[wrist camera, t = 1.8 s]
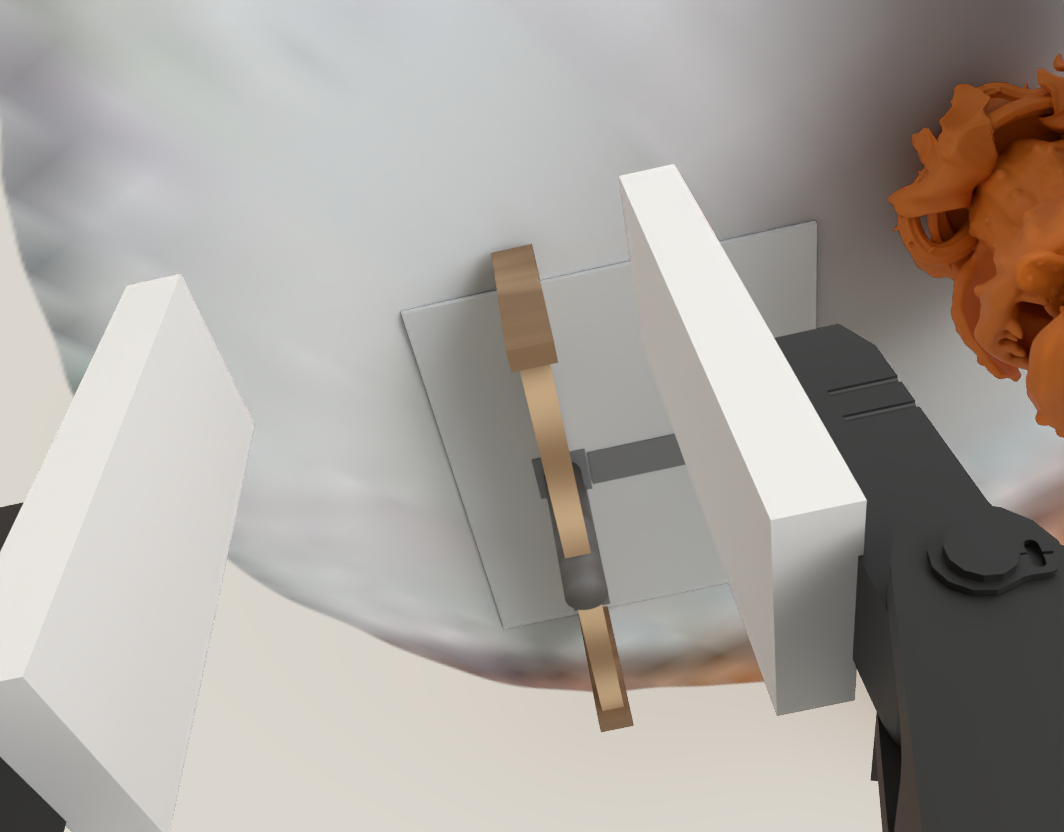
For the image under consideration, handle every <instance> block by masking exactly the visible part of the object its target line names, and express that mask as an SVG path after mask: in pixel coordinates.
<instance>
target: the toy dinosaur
mask: <svg viewBox="0 0 1064 832" xmlns="http://www.w3.org/2000/svg"><path fill="white" fill-rule="evenodd" d="M1054 68H1055V70H1057V71H1064V61H1063V60H1062V55H1061V54H1058V55H1057V56H1056V58H1055V60H1054ZM1038 84H1039V85H1040V86H1041V87H1043V88H1038V89H1028V83H1026V84H1025V86H1024V87H1023V88H1020V87H1017V86H1015V85H1012V84H1008V83H1003V82H993V83H988V84H984V85H982V86H980V87H977V88H975V87H974V86H972V85H969V84H958V85H957V86H956V87H955V89H954V92H953V99H952V100H951V101H950V102H951V104H952V107H951V109H950V110H949V111H948V112H947V113H946V115H945V116H944V117H942V118H941V119H940V125H941V127H942V132H941V134H939V137H938V138H937V139H936V138H935V136H934V134H933V133H932V132H931V130H930V129H928V128H924V129H922V130H921V131H920V132H919V133H914V134H913V135H912V144H913V147H914V148H915V149H916V150H917V152H918V153H919V159H920V161H921V162H922V163H923V165H924V166H925V167H924V169H923V170H922V171H919V172H918V174H919V176H918V177H917V178H916V180H915V181H914V182H913V184H910V185H907V186H905V187H903V188H901V189H899V190H897V191H896V192H894V193H893V194H891V195H890V196H889V197H888V202H889V203H891V204H892V205H893V206H894V209H895V211H896V213H898V221H897V223H898V226H897V227H896V228H894V230H893V231H899V233H900V236H901V238H902V240H903V242H904V245H905V247H906V248H907V250H908V251H909V252H910V254H911V255H912V258H913V261H914V262H915V263H916V265H917V267H918V268H920V269H922V270H923V271H925V272H926V273H928V274H929V275H930V276H932V277H934V278H943V277H948V278H951V279H953V280H954V281H955V283H954V290H953V297H952V308H951V315H952V319H953V321H954V323H955V326H956V331H957V333H958V334H960V336H961V338H962V340H963V342H964V343H965V344H966V346H968V347H969V348H970V349H971V350H972V351H973V352H974V353H975V354H976V355H977V362H978V363H979V364H980V365H982V366H985V367H986V368H987V370H988V371H989V372H990V373H991V374H993V375H994V376H995V377H996V378H998V379H1004V378H1010V379H1012V380H1013V381H1015V382H1017V381H1018V380H1019V379H1020V377H1021V373H1020V371H1019V369H1018V368H1021V369H1025V370H1028V372H1027V376H1026V388H1027V395H1028V397H1029V398H1030V400H1031V401H1032V403H1033V404H1034V406H1035V407H1036V409H1037V411H1038V412H1037V415H1036V418H1035V419H1036V422H1037V423H1038V424H1039V425H1042V426H1046V425H1049V426H1051V427H1053V428H1054V429H1056V434H1057V435H1058V436H1059V437H1063V438H1064V78H1062V77H1059V76H1056V75H1053V74H1051V73H1050V72H1048V71H1047V70H1045V69H1042V68H1039V69H1038ZM924 215H926V219H927V224H928V228H929V232H930V236H931V239H932V241H931V240H930V239H929V238H928V237H927V236H926V234H925V232H924V230H923V228H922V226H921V222H920V216H924Z"/></svg>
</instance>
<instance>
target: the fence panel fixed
mask: <svg viewBox="0 0 1064 832" xmlns="http://www.w3.org/2000/svg"><path fill="white" fill-rule="evenodd" d="M572 467H573V472H574V476H575V481H576V486H577V490H578V495H579V500H580V504H581V509H582V514H583V518H584V523H585V528H586V532H587V537H588V542H589V546H590V551H591V553H589V554H585V555H580V556H575V557H570V558H566V559H565V556H564V552H563V548H562V543H561V539H560V535H559V531H558V527H557V523H556V519H555V515H554V510H553V506H552V502H551V498H550V494H549V490H548V486H547V481H546V477H545V473H544V482H545V488H546V493H547V499H548V505H549V511H550V516H551V522H552V528H553V533H554V539H555V545H556V551H557V556H558V562H559V568H560V574H561V579H562V585H563V591H564V596H565V601H566V603H567V604H568V605H569V606H570V607H572V608H574V609H577V610H578V614H579V619H580V624H581V630H582V635H583V640H584V646H585V651H586V656H587V662H588V667H589V673H590V678H591V683H592V689H593V694H594V699H595V705H596V710H597V715H598V721H599V725H600V729H601V732H604V731H609V730H614V729H619V728H624V727H629V726H633V720H632V715H631V711H630V706H629V702H628V697H627V693H626V688H625V684H624V679H623V674H622V670H621V665H620V661H619V656H618V652H617V647H616V643H615V638H614V634H613V629H612V624H611V620H610V615H609V611H608V606H605V607H602V604H603V603H604V602H605V600H606V599H607V597H608V588H607V584H606V579H605V575H604V570H603V566H602V562H601V557H600V553H599V548H598V544H597V539H596V535H595V530H594V526H593V521H592V517H591V513H590V508H589V504H588V499H587V495H586V490H585V486H584V481H583V477H582V472H581V469H580V467H579V466H578V465H577V464H576V463H574V462H572Z"/></svg>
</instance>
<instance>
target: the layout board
mask: <svg viewBox="0 0 1064 832" xmlns="http://www.w3.org/2000/svg"><path fill="white" fill-rule="evenodd" d="M719 243H720V244H721V246H722V248H723V250H724V251H725V253H726V255H727V257H728V258H729V260H730V262H731V264H732V265H733V267H734V269H735V271H736V272H737V274H738V276H739V277H740V279H741V281H742V283H743V284H744V286H745V288H746V290H747V291H748V293H749V295H750V297H751V298H752V300H753V302H754V304H755V305H756V307H757V309H758V311H759V312H760V314H761V316H762V318H763V319H764V321H765V323H766V325H767V326H768V328H769V330H770V332H771V333H772V335H773V337H774V338H775V337H780V336H785V335H789V334H794V333H799V332H803V331H808V330H813V329H816V289H817V223H816V221H810V222H805V223H801V224H796V225H792V226H787V227H783V228H778V229H773V230H769V231H764V232H760V233H755V234H751V235H746V236H742V237H737V238H732V239H728V240H723V241H719ZM540 282H541V287H542V291H543V295H544V300H545V304H546V309H547V313H548V317H549V322H550V326H551V331H552V335H553V339H554V344H555V349H556V354H557V359H558V363H554V364H551V369H552V374H553V378H554V383H555V388H556V392H557V397H558V402H559V406H560V411H561V416H562V420H563V425H564V430H565V434H566V439H567V444H568V448H569V453H570V458H571V462H574V463H576V464H577V465H578V466H579V467H580V469H581V472H582V477H583V481H584V486H585V490H586V495H587V499H588V504H589V508H590V513H591V517H592V521H593V526H594V530H595V535H596V539H597V544H598V548H599V553H600V557H601V562H602V566H603V570H604V575H605V579H606V584H607V588H608V597H607V599H606V600H605V602H604V603H603V604H602V607H605V606H608V608H610V607H615V606H620V605H625V604H630V603H635V602H639V601H644V600H649V599H654V598H659V597H664V596H668V595H673V594H678V593H683V592H688V591H693V590H697V589H702V588H707V587H712V586H717V585H722V584H726V583H729V582H728V579H727V577H726V574H725V571H724V568H723V566H722V563H721V560H720V557H719V555H718V552H717V549H716V546H715V544H714V541H713V538H712V535H711V533H710V530H709V527H708V524H707V522H706V519H705V516H704V513H703V511H702V508H701V505H700V502H699V500H698V497H697V494H696V491H695V488H694V486H693V483H692V480H691V477H690V475H689V472H688V469H687V466H686V464H685V461H684V458H683V455H682V453H681V450H680V447H679V444H678V442H677V439H676V436H675V433H674V431H673V428H672V425H671V422H670V420H669V417H668V414H667V411H666V409H665V406H664V403H663V400H662V397H661V395H660V392H659V389H658V386H657V384H656V381H655V378H654V375H653V373H652V370H651V367H650V364H649V362H648V359H647V356H646V353H645V351H644V348H643V345H642V342H641V336H640V329H639V321H638V314H637V307H636V299H635V292H634V284H633V277H632V270H631V262H630V261H627V262H623V263H618V264H614V265H609V266H605V267H600V268H595V269H591V270H586V271H582V272H577V273H573V274H568V275H563V276H559V277H554V278H550V279H545V280H541V281H540ZM401 315H402V318H403V321H404V324H405V327H406V330H407V333H408V336H409V339H410V342H411V345H412V348H413V351H414V354H415V357H416V360H417V363H418V367H419V370H420V373H421V376H422V379H423V382H424V385H425V388H426V391H427V394H428V397H429V400H430V403H431V406H432V409H433V412H434V415H435V419H436V422H437V425H438V428H439V431H440V434H441V437H442V440H443V443H444V446H445V449H446V452H447V455H448V458H449V461H450V464H451V467H452V471H453V474H454V477H455V480H456V483H457V486H458V489H459V492H460V495H461V498H462V501H463V504H464V507H465V510H466V513H467V516H468V519H469V523H470V526H471V529H472V532H473V535H474V538H475V541H476V544H477V547H478V550H479V553H480V556H481V559H482V562H483V565H484V568H485V571H486V575H487V578H488V581H489V584H490V587H491V590H492V593H493V596H494V599H495V602H496V605H497V608H498V611H499V614H500V617H501V620H502V623H503V627H504V629H509V628H514V627H519V626H524V625H528V624H533V623H538V622H543V621H548V620H553V619H557V618H562V617H567V616H572V615H577V614H578V610H577V609H574V608H572V607H570V606H569V605H568V604H567V603H566V601H565V596H564V591H563V585H562V579H561V574H560V568H559V562H558V556H557V551H556V545H555V539H554V533H553V528H552V522H551V516H550V511H549V505H548V499H547V493H546V488H545V482H544V469H543V465H542V461H541V457H540V452H539V448H538V444H537V440H536V436H535V432H534V428H533V424H532V419H531V415H530V411H529V407H528V403H527V399H526V395H525V390H524V386H523V382H522V378H521V374H520V371H517V372H513V373H511V370H510V366H509V362H508V358H507V354H506V348H505V342H504V335H503V329H502V322H501V315H500V309H499V302H498V295H497V290H495V291H490V292H486V293H481V294H477V295H472V296H468V297H463V298H458V299H454V300H449V301H445V302H440V303H436V304H431V305H427V306H422V307H417V308H413V309H408V310H404V311H402V312H401Z"/></svg>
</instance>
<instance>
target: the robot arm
mask: <svg viewBox="0 0 1064 832" xmlns="http://www.w3.org/2000/svg"><path fill="white" fill-rule="evenodd" d="M619 181H620V188H621V196H622V203H623V210H624V218H625V225H626V233H627V240H628V247H629V255H630V262H631V270H632V277H633V284H634V292H635V299H636V307H637V314H638V321H639V329H640V336H641V342H642V345H643V348H644V351H645V353H646V356H647V359H648V362H649V364H650V367H651V370H652V373H653V375H654V378H655V381H656V384H657V386H658V389H659V392H660V395H661V397H662V400H663V403H664V406H665V409H666V411H667V414H668V417H669V420H670V422H671V425H672V428H673V431H674V433H675V436H676V439H677V442H678V444H679V447H680V450H681V453H682V455H683V458H684V461H685V464H686V466H687V469H688V472H689V475H690V477H691V480H692V483H693V486H694V488H695V491H696V494H697V497H698V500H699V502H700V505H701V508H702V511H703V513H704V516H705V519H706V522H707V524H708V527H709V530H710V533H711V535H712V538H713V541H714V544H715V546H716V549H717V552H718V555H719V557H720V560H721V563H722V566H723V568H724V571H725V574H726V577H727V579H728V582H729V585H730V588H731V591H732V593H733V596H734V599H735V602H736V604H737V607H738V610H739V613H740V615H741V618H742V621H743V624H744V626H745V629H746V632H747V635H748V637H749V640H750V643H751V646H752V648H753V651H754V654H755V657H756V659H757V662H758V665H759V668H760V670H761V673H762V676H763V679H764V681H765V684H766V687H767V690H768V692H769V695H770V698H771V700H772V703H773V706H774V709H775V712H776V715H777V716H779V715H784V714H789V713H794V712H799V711H804V710H809V709H814V708H819V707H824V706H828V705H833V704H838V703H843V702H848V701H853V700H855V687H856V670H858V672H859V674H860V676H861V678H862V681H863V683H864V685H865V687H866V689H867V691H868V693H869V696H870V698H871V700H872V702H873V704H874V706H875V709H876V711H877V715H876V727H875V737H874V749H873V760H872V772H871V780H872V781H878V784H879V795H880V807H881V818H882V830H883V832H1064V546H1063V545H1060V543H1059V541H1058V540H1057V539H1056V538H1054V537H1053V536H1052V535H1051V534H1049V533H1048V532H1047V531H1045V530H1044V529H1043V528H1042V527H1040V526H1039V525H1038V524H1037V523H1035V522H1034V521H1033V520H1030V519H1028V518H1026V517H1023V516H1021V515H1018V514H1016V513H1013V512H1011V511H1008V510H1006V509H1003V508H1001V507H995V506H992V505H991V504H990V503H989V502H988V501H987V500H986V498H985V497H984V496H983V494H982V493H981V491H980V490H979V489H978V487H977V486H976V484H975V483H974V482H973V480H972V479H971V478H970V476H969V475H968V473H967V472H966V471H965V469H964V468H963V466H962V465H961V464H960V462H959V461H958V460H957V458H956V457H955V455H954V454H953V453H952V451H951V450H950V448H949V447H948V446H947V444H946V443H945V441H944V440H943V439H942V437H941V436H940V435H939V433H938V432H937V430H936V429H935V428H934V426H933V425H932V423H931V422H930V421H929V419H928V418H927V417H926V415H925V414H924V412H923V411H922V410H921V408H920V407H916V405H915V400H914V398H913V397H912V396H911V394H910V393H909V392H908V390H907V389H906V387H905V386H904V385H903V383H902V382H898V380H897V375H896V374H895V372H894V371H893V369H892V368H891V367H890V365H889V364H888V362H887V361H886V360H885V358H884V357H883V355H882V354H881V353H880V351H879V350H878V349H877V347H876V346H875V345H873V344H872V343H870V342H868V341H867V340H865V339H863V338H862V337H860V336H858V335H856V334H855V333H853V332H851V331H850V330H848V329H846V328H845V327H843V326H841V325H839V324H836V325H831V326H826V327H822V328H817V329H813V330H808V331H803V332H799V333H794V334H789V335H785V336H780V337H775V338H774V337H773V335H772V333H771V332H770V330H769V328H768V326H767V325H766V323H765V321H764V319H763V318H762V316H761V314H760V312H759V311H758V309H757V307H756V305H755V304H754V302H753V300H752V298H751V297H750V295H749V293H748V291H747V290H746V288H745V286H744V284H743V283H742V281H741V279H740V277H739V276H738V274H737V272H736V271H735V269H734V267H733V265H732V264H731V262H730V260H729V258H728V257H727V255H726V253H725V251H724V250H723V248H722V246H721V244H720V243H719V241H718V239H717V237H716V236H715V234H714V232H713V230H712V229H711V227H710V225H709V223H708V222H707V220H706V218H705V216H704V215H703V213H702V211H701V209H700V208H699V206H698V204H697V202H696V201H695V199H694V197H693V195H692V194H691V192H690V190H689V188H688V187H687V185H686V183H685V181H684V180H683V178H682V176H681V174H680V173H679V171H678V169H677V167H676V166H675V164H671V165H666V166H662V167H657V168H653V169H648V170H644V171H639V172H635V173H630V174H626V175H621V176H619ZM254 427H255V424H254V422H253V420H252V418H251V416H250V414H249V412H248V410H247V408H246V406H245V404H244V402H243V400H242V398H241V396H240V394H239V392H238V390H237V387H236V385H235V383H234V381H233V379H232V377H231V375H230V373H229V371H228V369H227V367H226V365H225V363H224V361H223V359H222V357H221V355H220V353H219V351H218V349H217V347H216V345H215V343H214V341H213V339H212V336H211V334H210V332H209V330H208V328H207V326H206V324H205V322H204V320H203V318H202V316H201V314H200V312H199V310H198V308H197V306H196V304H195V302H194V300H193V298H192V296H191V294H190V292H189V290H188V288H187V285H186V283H185V281H184V279H183V277H182V275H181V274H176V275H172V276H167V277H163V278H158V279H154V280H149V281H145V282H140V283H136V284H131V285H127V286H126V288H125V291H124V293H123V295H122V297H121V299H120V301H119V303H118V305H117V307H116V309H115V312H114V314H113V316H112V318H111V320H110V322H109V324H108V326H107V328H106V330H105V333H104V335H103V337H102V339H101V341H100V343H99V345H98V347H97V349H96V352H95V354H94V356H93V358H92V360H91V362H90V364H89V366H88V368H87V370H86V373H85V375H84V377H83V379H82V381H81V383H80V385H79V387H78V389H77V391H76V394H75V396H74V398H73V400H72V402H71V404H70V406H69V408H68V410H67V412H66V415H65V417H64V419H63V421H62V423H61V425H60V427H59V429H58V431H57V434H56V436H55V438H54V440H53V442H52V444H51V446H50V448H49V451H48V452H47V455H46V457H45V459H44V461H43V463H42V465H41V467H40V469H39V472H38V473H37V476H36V478H35V480H34V482H33V484H32V486H31V488H30V490H29V493H28V495H27V497H26V499H25V501H24V502H23V503H19V504H14V505H9V506H5V507H0V832H64V829H65V826H66V827H67V828H68V829H70V831H71V832H170V830H171V825H172V820H173V815H174V810H175V806H176V801H177V796H178V791H179V787H180V782H181V777H182V772H183V768H184V762H185V758H186V753H187V748H188V743H189V739H190V733H191V729H192V724H193V719H194V715H195V710H196V705H197V700H198V696H199V690H200V686H201V681H202V676H203V672H204V666H205V662H206V657H207V653H208V648H209V643H210V638H211V633H212V629H213V624H214V619H215V614H216V609H217V604H218V599H219V595H220V590H221V585H222V581H223V576H224V571H225V566H226V562H227V557H228V552H229V547H230V542H231V538H232V533H233V528H234V523H235V518H236V514H237V509H238V504H239V499H240V494H241V490H242V485H243V480H244V475H245V471H246V466H247V461H248V456H249V451H250V447H251V442H252V437H253V432H254Z"/></svg>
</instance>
